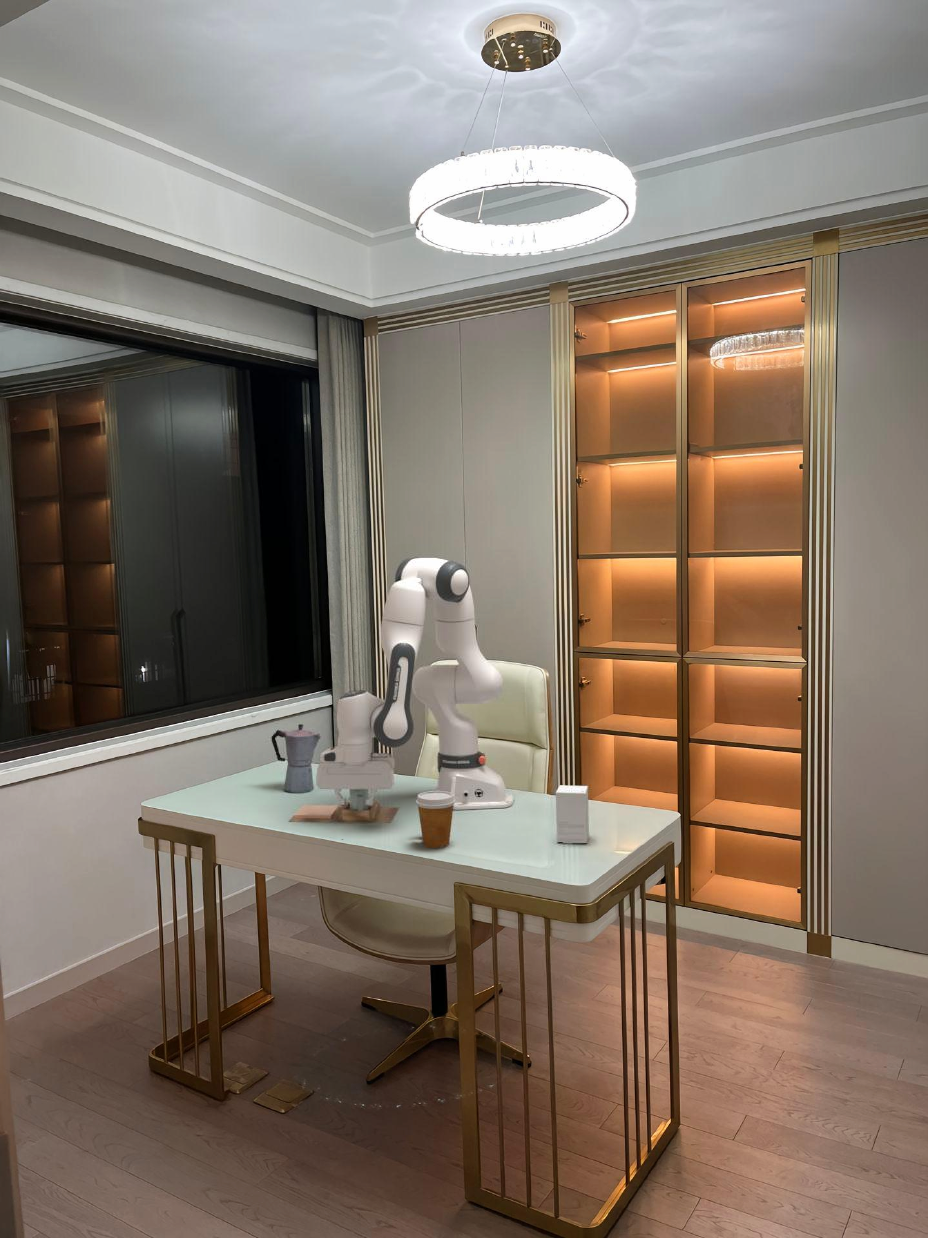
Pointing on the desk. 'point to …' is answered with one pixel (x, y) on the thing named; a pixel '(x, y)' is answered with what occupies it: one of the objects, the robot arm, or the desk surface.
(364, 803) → the pale blue rounded piece
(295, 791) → the moka pot
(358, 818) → the walnut board
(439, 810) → the disposable coffee cup
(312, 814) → the terracotta coaster
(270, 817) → the desk surface
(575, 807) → the supplement box
